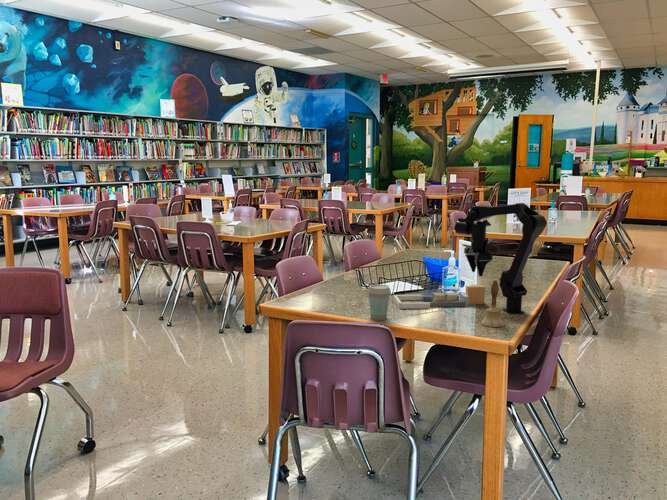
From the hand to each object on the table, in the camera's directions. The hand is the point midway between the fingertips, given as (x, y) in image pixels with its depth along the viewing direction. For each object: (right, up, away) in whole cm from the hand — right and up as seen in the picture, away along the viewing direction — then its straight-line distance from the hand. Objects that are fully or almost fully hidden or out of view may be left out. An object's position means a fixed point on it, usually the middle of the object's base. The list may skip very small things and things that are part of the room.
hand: (477, 274), depth 239 cm
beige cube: (-11, -12, 0) cm, 16 cm away
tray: (-27, -12, -1) cm, 29 cm away
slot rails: (-14, -12, 0) cm, 18 cm away
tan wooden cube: (-16, -12, 0) cm, 20 cm away
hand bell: (-1, -17, -29) cm, 33 cm away
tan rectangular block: (-1, -12, +1) cm, 12 cm away
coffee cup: (-42, -16, -22) cm, 50 cm away
